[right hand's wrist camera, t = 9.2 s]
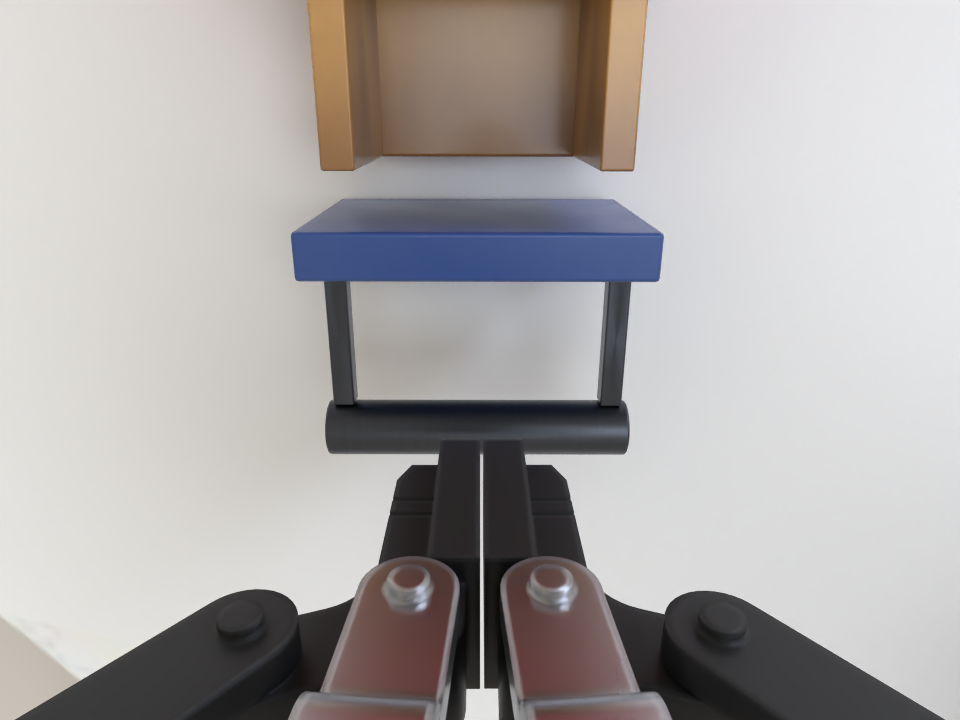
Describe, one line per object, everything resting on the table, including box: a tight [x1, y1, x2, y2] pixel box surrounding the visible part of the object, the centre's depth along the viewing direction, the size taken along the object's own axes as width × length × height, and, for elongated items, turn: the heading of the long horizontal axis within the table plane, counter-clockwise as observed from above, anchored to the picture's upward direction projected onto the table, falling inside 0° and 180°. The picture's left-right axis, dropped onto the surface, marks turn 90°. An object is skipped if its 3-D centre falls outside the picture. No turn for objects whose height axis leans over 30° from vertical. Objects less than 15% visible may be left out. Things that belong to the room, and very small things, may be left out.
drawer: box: [291, 0, 664, 454], centre depth 17 cm, size 23×9×6 cm, turn 0°
